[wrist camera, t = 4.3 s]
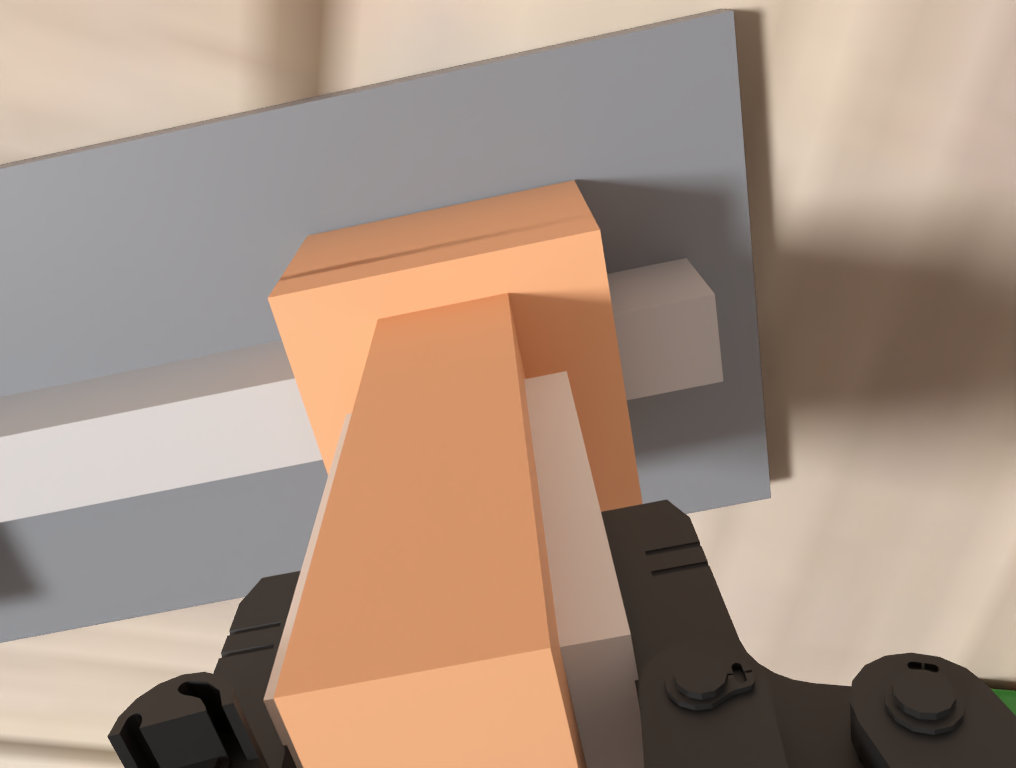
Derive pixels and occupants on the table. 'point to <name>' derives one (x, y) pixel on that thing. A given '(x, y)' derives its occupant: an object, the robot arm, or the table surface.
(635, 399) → the rail
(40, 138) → the table surface
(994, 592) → the table surface
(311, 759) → the slider
